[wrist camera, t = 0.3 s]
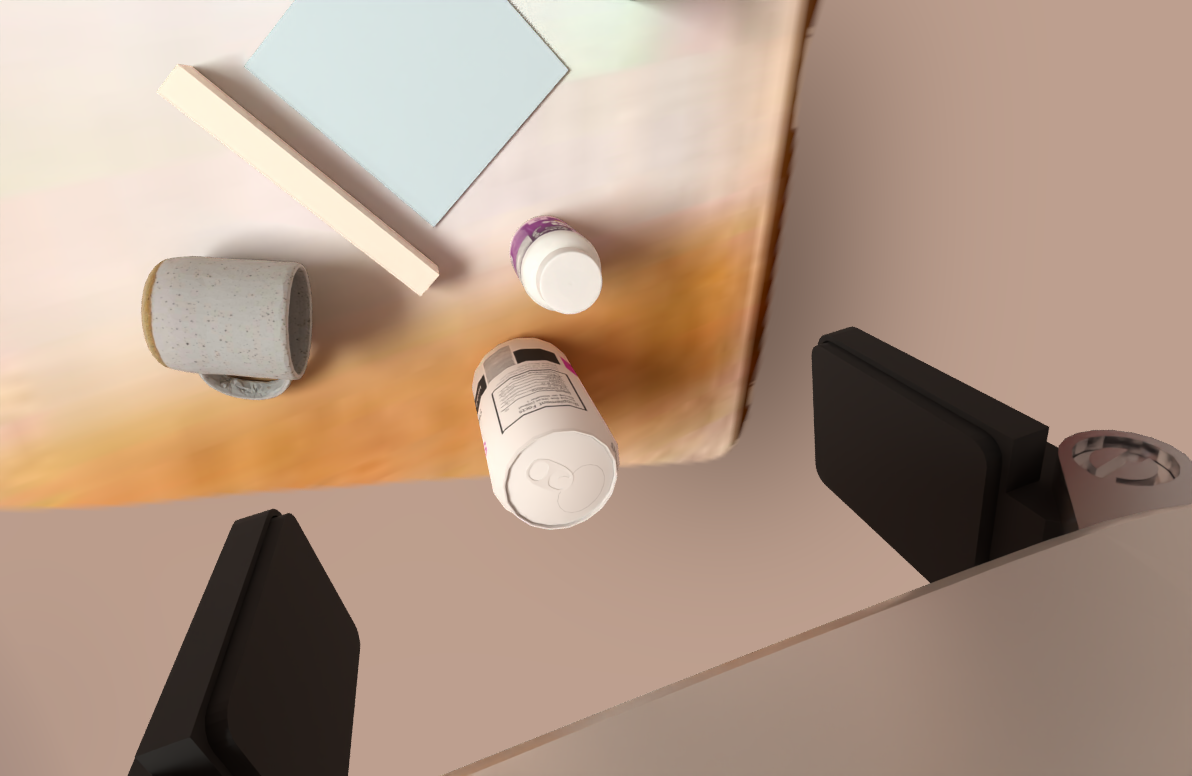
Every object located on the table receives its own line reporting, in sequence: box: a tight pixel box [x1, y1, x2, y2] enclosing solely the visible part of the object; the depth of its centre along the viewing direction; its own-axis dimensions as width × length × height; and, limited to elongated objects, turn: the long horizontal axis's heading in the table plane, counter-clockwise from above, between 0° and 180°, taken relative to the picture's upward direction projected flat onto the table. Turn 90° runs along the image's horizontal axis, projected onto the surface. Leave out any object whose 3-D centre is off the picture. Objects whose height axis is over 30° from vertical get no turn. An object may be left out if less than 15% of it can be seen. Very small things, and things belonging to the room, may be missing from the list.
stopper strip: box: [157, 64, 439, 296], centre depth 39 cm, size 18×2×2 cm, turn 45°
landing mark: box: [244, 0, 568, 227], centre depth 39 cm, size 14×14×1 cm
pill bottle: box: [510, 216, 602, 314], centre depth 42 cm, size 5×5×10 cm
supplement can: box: [472, 338, 619, 530], centre depth 43 cm, size 8×8×15 cm
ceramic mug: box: [141, 256, 312, 400], centre depth 39 cm, size 11×8×8 cm
